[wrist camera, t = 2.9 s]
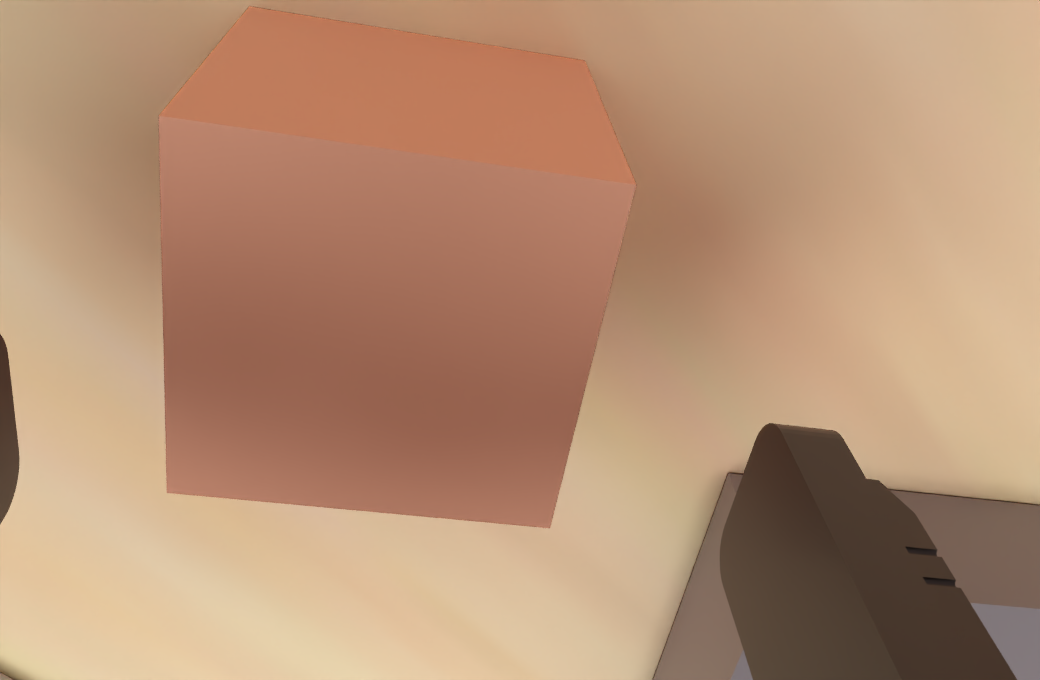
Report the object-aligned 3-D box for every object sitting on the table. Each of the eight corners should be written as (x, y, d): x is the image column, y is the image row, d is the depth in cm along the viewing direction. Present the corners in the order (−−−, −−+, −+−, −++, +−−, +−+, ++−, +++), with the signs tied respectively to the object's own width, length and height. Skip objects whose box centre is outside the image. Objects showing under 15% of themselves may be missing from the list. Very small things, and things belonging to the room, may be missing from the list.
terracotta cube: (249, 4, 14) (158, 115, 10) (584, 58, 15) (636, 184, 10) (242, 301, 16) (167, 492, 12) (527, 336, 17) (549, 528, 13)
